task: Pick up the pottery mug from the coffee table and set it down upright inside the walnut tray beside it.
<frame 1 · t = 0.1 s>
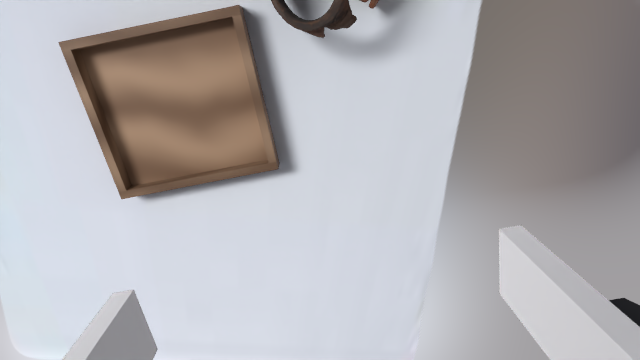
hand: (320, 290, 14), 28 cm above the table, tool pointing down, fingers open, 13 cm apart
walnut tray: (181, 106, 39), on the table
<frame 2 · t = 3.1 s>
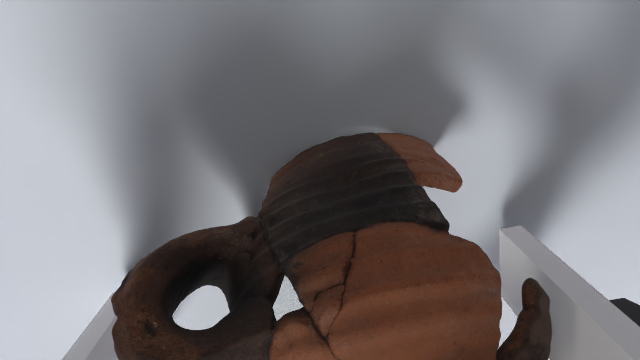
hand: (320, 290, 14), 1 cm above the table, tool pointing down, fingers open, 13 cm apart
pottery mug: (336, 253, 14), on the table, touching gripper
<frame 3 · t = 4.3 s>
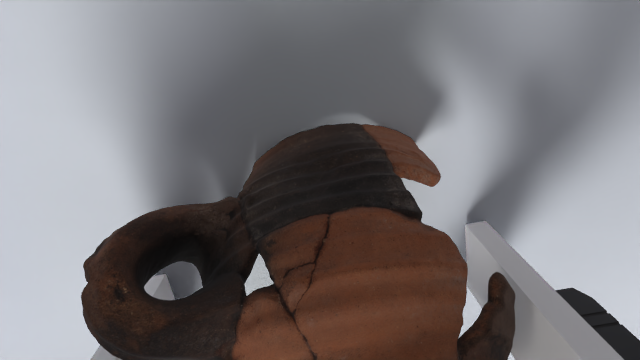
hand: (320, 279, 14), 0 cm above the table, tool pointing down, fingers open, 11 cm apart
pottery mug: (315, 242, 14), on the table, touching gripper
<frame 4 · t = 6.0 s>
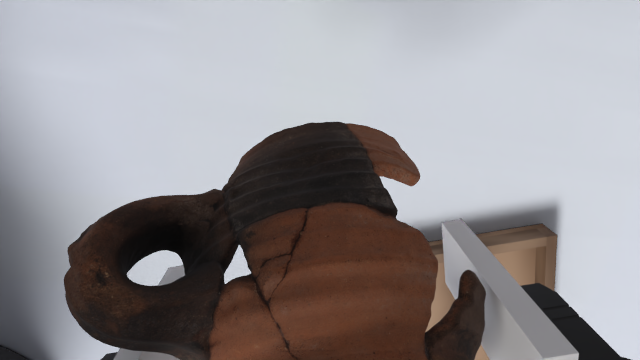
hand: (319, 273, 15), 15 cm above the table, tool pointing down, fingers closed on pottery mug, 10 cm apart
pottery mug: (299, 237, 15), point 15 cm above the table, touching gripper
walnut tray: (452, 319, 34), on the table
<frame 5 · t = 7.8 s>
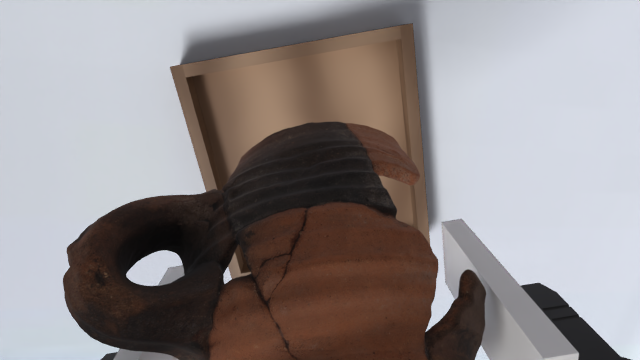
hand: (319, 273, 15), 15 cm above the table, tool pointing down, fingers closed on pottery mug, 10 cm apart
pottery mug: (299, 236, 15), point 15 cm above the table, touching gripper
walnut tray: (312, 159, 29), on the table
when the fingers open (3 cm above the table, at t = 10.9 s): pottery mug drops 2 cm, resting on walnut tray.
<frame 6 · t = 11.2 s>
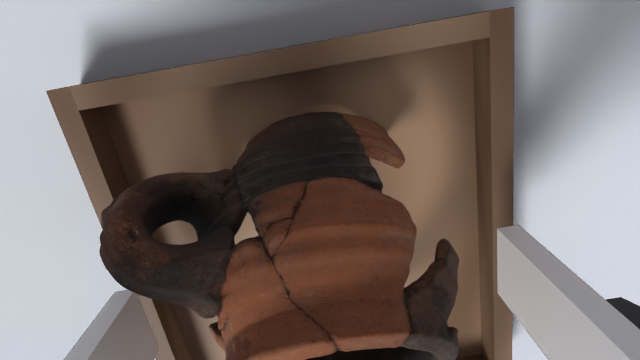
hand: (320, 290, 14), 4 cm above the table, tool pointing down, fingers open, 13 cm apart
pottery mug: (297, 216, 16), resting on walnut tray
walnut tray: (317, 240, 17), on the table
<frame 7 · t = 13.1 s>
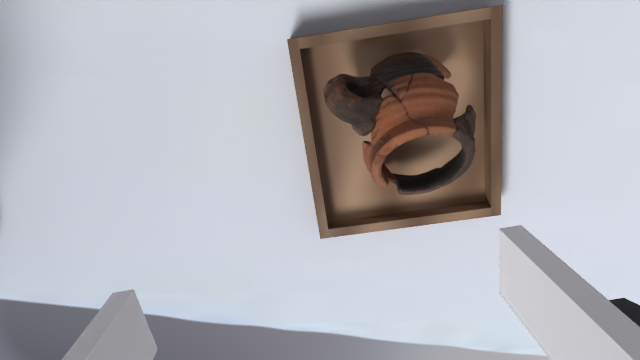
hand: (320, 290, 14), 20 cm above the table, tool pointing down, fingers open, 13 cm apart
pottery mug: (390, 111, 32), resting on walnut tray
walnut tray: (397, 128, 32), on the table
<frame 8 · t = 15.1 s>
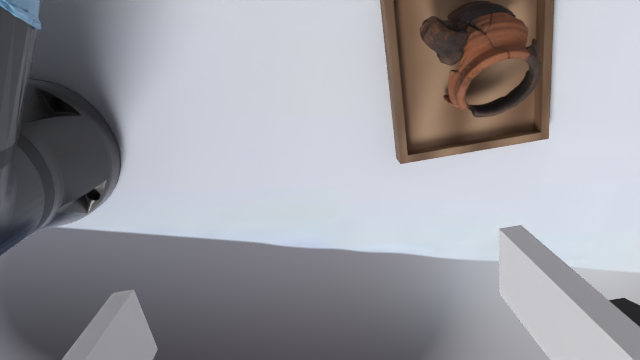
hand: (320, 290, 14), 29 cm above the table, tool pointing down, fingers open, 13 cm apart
pottery mug: (461, 52, 38), resting on walnut tray
walnut tray: (464, 69, 39), on the table
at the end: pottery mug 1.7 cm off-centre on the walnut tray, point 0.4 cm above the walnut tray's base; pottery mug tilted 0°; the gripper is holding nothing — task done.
